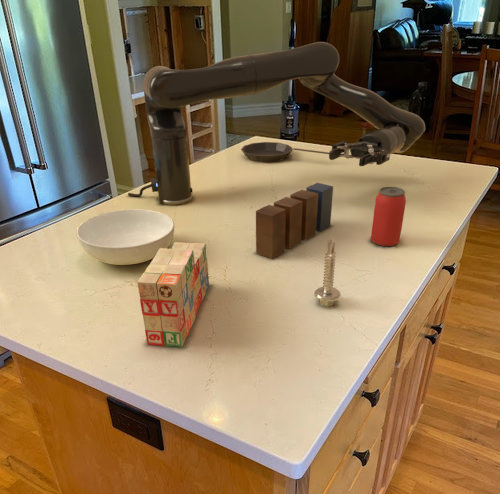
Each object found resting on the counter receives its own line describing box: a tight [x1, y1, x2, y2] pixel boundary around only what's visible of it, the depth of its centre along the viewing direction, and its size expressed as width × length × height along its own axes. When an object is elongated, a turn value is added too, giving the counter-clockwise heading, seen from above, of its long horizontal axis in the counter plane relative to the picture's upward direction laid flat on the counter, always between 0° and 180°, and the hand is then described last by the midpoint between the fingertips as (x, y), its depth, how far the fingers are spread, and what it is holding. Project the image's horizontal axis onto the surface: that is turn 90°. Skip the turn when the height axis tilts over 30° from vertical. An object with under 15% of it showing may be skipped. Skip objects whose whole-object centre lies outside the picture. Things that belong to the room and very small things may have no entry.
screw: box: [313, 239, 342, 307], centre depth 93 cm, size 13×5×5 cm
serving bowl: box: [76, 208, 175, 266], centre depth 113 cm, size 21×21×7 cm
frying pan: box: [240, 141, 329, 163], centre depth 174 cm, size 18×32×4 cm, turn 62°
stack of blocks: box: [137, 241, 210, 348], centre depth 91 cm, size 21×6×12 cm, turn 171°
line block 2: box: [273, 196, 303, 250], centre depth 116 cm, size 5×5×10 cm
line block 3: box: [289, 189, 318, 241], centre depth 120 cm, size 5×5×10 cm
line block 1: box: [255, 204, 286, 260], centre depth 112 cm, size 5×5×10 cm
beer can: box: [370, 186, 407, 247], centre depth 116 cm, size 7×7×12 cm
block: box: [305, 182, 334, 233], centre depth 124 cm, size 5×5×10 cm
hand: (345, 158), depth 126 cm, fingers open, 8 cm apart
